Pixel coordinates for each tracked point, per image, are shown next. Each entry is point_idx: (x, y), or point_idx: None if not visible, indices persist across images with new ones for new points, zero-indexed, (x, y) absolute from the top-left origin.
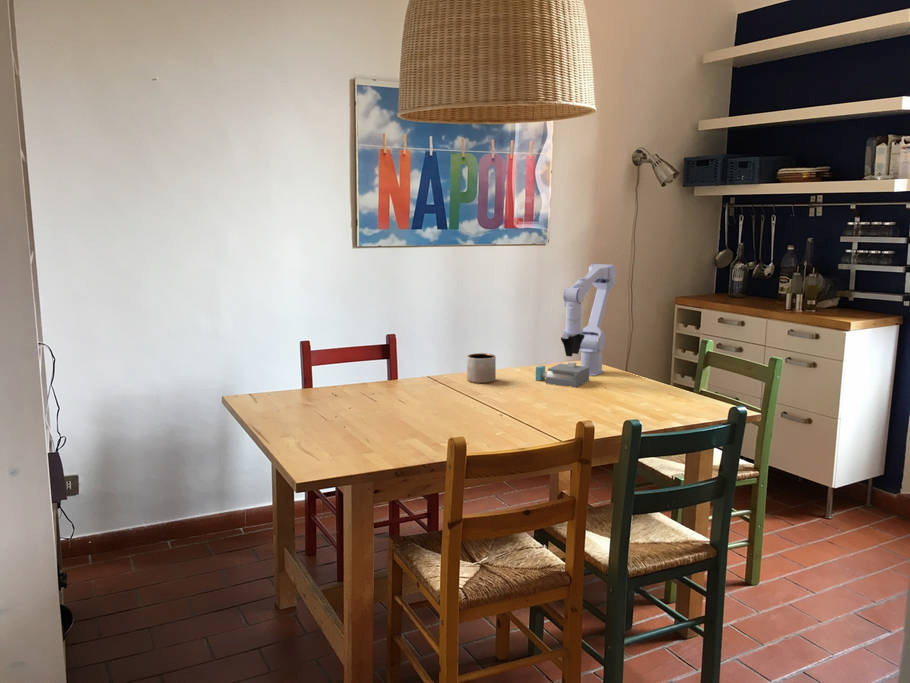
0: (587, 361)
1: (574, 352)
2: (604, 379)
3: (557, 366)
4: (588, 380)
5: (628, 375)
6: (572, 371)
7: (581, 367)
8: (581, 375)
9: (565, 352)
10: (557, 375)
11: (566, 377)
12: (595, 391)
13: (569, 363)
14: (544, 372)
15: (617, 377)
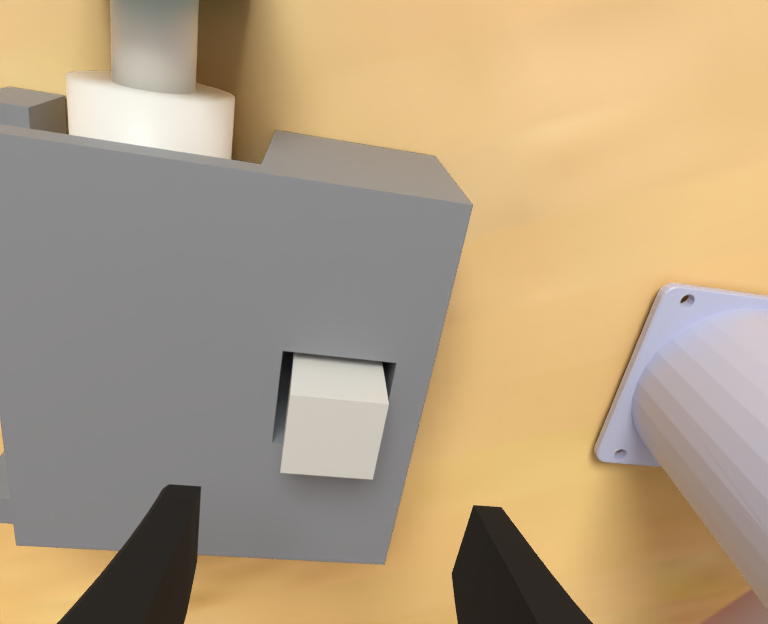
0: (706, 476)
1: (468, 547)
2: None
3: (236, 225)
4: None
5: (683, 621)
6: (22, 487)
7: (326, 507)
8: None
9: (144, 524)
10: None
11: None
12: (10, 581)
13: (287, 413)
14: (130, 11)
15: (595, 584)
